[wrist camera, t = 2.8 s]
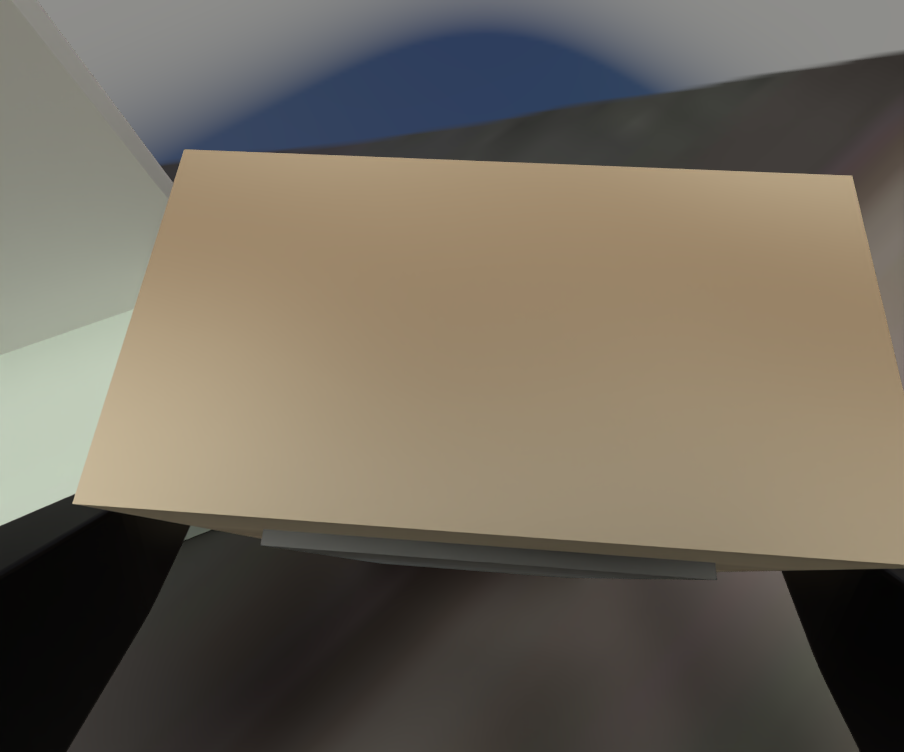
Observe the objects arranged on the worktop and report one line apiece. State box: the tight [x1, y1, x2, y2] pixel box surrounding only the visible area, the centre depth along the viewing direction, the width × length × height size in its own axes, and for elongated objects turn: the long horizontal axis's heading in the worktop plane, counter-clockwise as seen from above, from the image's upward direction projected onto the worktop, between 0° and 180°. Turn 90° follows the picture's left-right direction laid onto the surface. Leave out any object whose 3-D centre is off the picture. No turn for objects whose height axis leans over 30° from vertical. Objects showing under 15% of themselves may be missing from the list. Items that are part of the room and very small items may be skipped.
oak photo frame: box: [72, 150, 904, 580], centre depth 10 cm, size 4×6×12 cm, turn 86°
